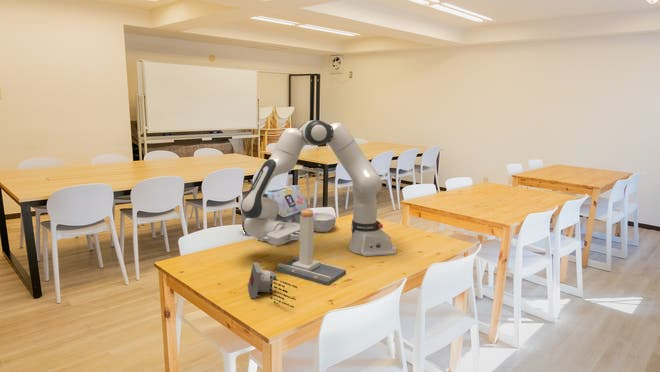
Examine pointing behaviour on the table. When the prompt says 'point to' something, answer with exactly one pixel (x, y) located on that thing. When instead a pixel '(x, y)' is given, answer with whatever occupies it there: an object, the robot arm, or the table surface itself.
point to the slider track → (313, 272)
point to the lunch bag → (288, 203)
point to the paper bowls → (323, 221)
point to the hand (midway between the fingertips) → (302, 237)
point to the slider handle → (306, 242)
